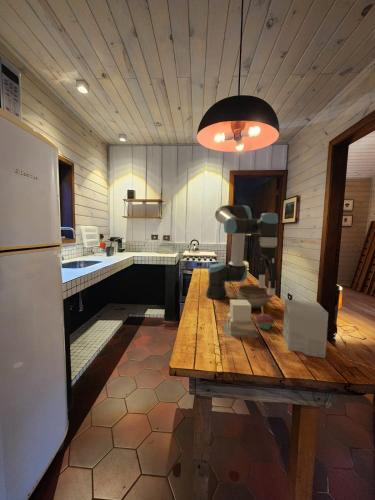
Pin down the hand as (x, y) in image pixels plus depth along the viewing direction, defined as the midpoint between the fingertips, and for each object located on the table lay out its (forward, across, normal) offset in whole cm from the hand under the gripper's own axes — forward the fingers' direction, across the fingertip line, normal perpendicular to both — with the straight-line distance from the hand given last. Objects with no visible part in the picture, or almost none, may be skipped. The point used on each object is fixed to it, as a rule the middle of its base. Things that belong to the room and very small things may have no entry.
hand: (266, 291), depth 103 cm
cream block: (+11, +4, -13) cm, 18 cm away
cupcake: (+19, 0, 0) cm, 19 cm away
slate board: (+19, +4, -13) cm, 23 cm away
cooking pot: (+19, -29, +2) cm, 35 cm away
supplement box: (+19, +16, +10) cm, 27 cm away
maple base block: (+17, +4, -13) cm, 22 cm away
